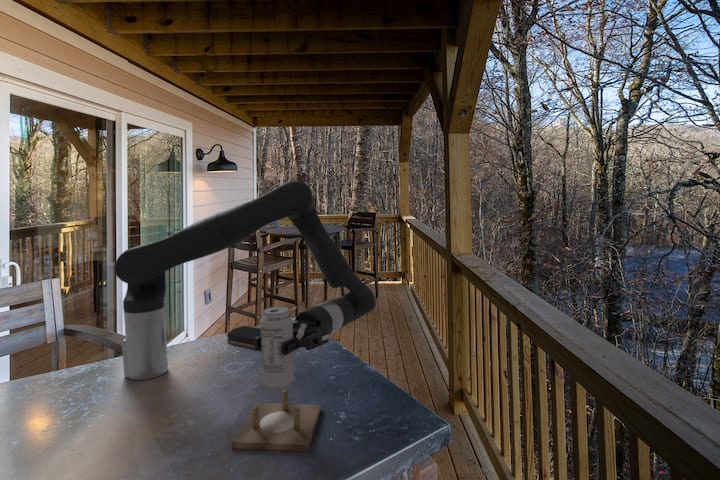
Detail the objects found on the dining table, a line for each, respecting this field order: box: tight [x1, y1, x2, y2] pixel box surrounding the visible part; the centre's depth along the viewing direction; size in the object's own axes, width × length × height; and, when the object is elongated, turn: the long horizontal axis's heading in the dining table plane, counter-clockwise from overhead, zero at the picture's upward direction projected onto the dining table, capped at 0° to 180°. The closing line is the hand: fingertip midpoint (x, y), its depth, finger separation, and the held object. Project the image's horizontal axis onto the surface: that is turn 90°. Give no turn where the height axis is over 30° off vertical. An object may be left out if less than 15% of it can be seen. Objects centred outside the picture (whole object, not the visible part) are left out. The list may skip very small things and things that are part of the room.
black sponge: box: [226, 325, 262, 350], centre depth 127 cm, size 16×8×4 cm, turn 63°
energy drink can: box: [259, 306, 295, 392], centre depth 78 cm, size 6×6×15 cm
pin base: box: [230, 389, 322, 452], centre depth 79 cm, size 14×14×5 cm
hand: (269, 346), depth 76 cm, fingers closed on energy drink can, 6 cm apart
